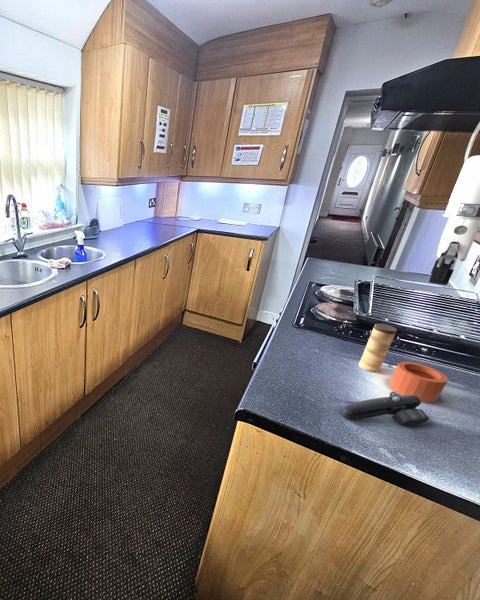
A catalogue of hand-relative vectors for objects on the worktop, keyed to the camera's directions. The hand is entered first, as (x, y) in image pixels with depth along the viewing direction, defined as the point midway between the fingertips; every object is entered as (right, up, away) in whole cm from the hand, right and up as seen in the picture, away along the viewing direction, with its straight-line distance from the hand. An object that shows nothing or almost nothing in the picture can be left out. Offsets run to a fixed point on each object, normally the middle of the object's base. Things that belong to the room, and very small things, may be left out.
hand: (438, 279), depth 84 cm
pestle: (-9, -26, +10) cm, 29 cm away
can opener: (-23, -33, -8) cm, 41 cm away
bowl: (-6, -30, +1) cm, 30 cm away
